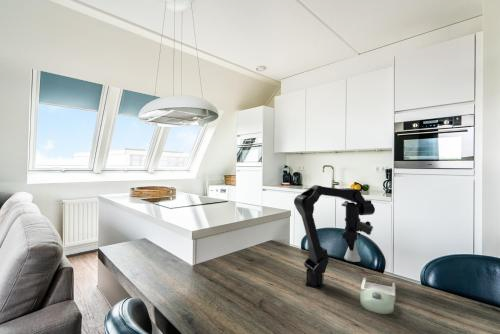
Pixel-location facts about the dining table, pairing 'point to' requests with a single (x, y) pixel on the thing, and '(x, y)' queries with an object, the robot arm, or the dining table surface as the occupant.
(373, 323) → the dining table surface
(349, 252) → the flask
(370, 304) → the white tub with tabs
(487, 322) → the dining table surface
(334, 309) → the dining table surface
